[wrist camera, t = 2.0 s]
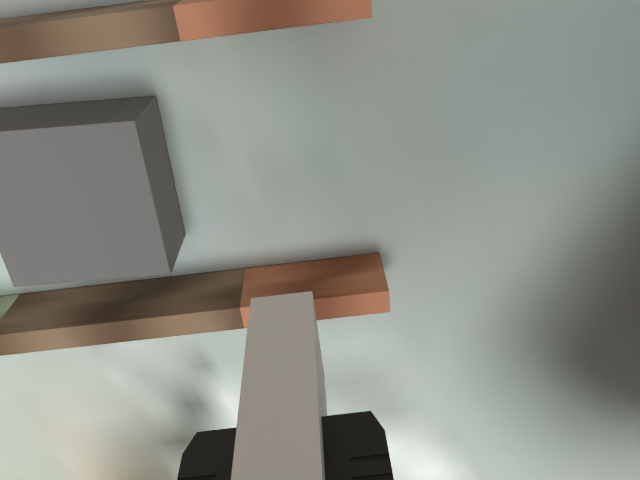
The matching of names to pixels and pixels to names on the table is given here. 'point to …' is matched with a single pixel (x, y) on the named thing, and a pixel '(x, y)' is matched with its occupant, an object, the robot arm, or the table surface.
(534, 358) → the table surface
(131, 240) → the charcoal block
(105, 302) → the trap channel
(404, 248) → the table surface
